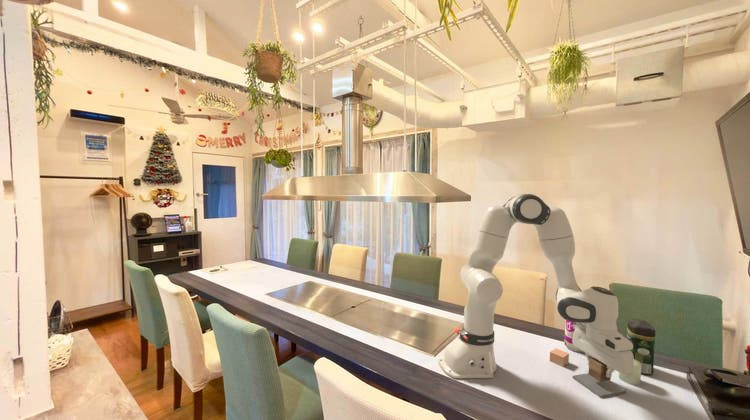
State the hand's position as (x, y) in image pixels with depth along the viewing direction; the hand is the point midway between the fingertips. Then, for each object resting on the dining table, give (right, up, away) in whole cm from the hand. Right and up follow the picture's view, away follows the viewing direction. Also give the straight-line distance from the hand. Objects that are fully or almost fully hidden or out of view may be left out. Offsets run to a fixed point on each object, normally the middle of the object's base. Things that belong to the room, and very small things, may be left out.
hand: (599, 371), depth 108 cm
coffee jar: (+23, -5, +10) cm, 26 cm away
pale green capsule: (+13, -5, +3) cm, 15 cm away
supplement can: (+8, -4, +26) cm, 27 cm away
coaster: (0, -5, 0) cm, 5 cm away
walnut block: (0, -2, 0) cm, 2 cm away
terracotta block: (-5, -4, +15) cm, 16 cm away
